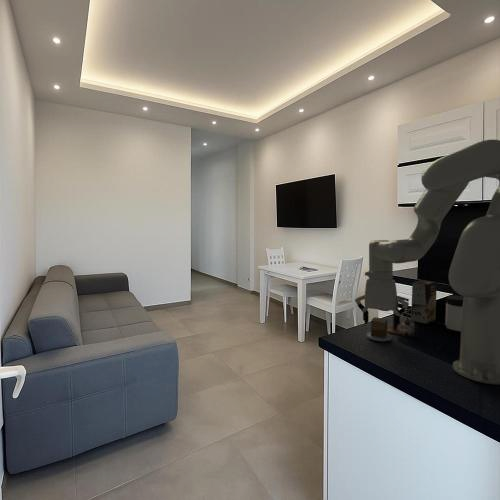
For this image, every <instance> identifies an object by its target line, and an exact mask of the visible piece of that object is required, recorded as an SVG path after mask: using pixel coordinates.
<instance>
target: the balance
mask: <svg viewBox="0 0 500 500" xmlns="http://www.w3.org/2000/svg"><path fill="white" fill-rule="evenodd" d="M397 297H399V298H400V299H402V300H404V301H406V302H409V300H410V298H407V297H403V296H401V295H397ZM397 308H398V309H399V302H397ZM377 310H379V311H381V312H390V311H391V310H380V309H377ZM406 310H407V311H406V318H404V322H402V323H401V322H400V326H401V327H403V328H405V329H403V328H399V327H398V326H399V325H398V326H397V328H396V327H394V316H395V313H394V312H393V311H392V326H387V333H388V334H390V335H391V334H392V335H396V336H397V335H398V336H404V337H405V336H406V334H407V329H408V328H409V329H411V328H414V324H413V323H411V319H409V306H408V307H407V308H406ZM406 328H407V329H406Z"/></svg>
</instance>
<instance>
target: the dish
mask: <svg viewBox="0 0 500 500" xmlns="http://www.w3.org/2000/svg"><path fill="white" fill-rule="evenodd" d="M366 337H367V338H368V339H370V340H372V341H374V342H382V343H384V342H388V341H391V340H392V335H391V334H390V333H387V335H386V337H385V338H380V337H374V336H371V331H367V332H366Z"/></svg>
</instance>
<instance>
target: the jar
mask: <svg viewBox="0 0 500 500" xmlns="http://www.w3.org/2000/svg"><path fill="white" fill-rule="evenodd" d="M463 299H464V296H462V295H459V294H458V295H456V294H454V295H453V294H452V295H450V294H449V295H447V296H446V303H445V322H444V323H445V324H444V325H445V327H446V329H448V330H451V331H455V332H460V333H461V322H462V306H463Z"/></svg>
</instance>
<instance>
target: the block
mask: <svg viewBox="0 0 500 500" xmlns="http://www.w3.org/2000/svg"><path fill="white" fill-rule="evenodd" d="M387 327H388V318H381V317H376V316H375V317H373V318H372V319H371V321H370V332H371V336H374V337H380V338H385V337H386V335H387Z"/></svg>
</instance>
